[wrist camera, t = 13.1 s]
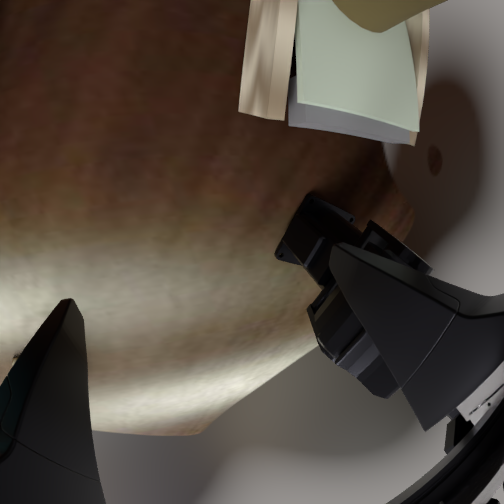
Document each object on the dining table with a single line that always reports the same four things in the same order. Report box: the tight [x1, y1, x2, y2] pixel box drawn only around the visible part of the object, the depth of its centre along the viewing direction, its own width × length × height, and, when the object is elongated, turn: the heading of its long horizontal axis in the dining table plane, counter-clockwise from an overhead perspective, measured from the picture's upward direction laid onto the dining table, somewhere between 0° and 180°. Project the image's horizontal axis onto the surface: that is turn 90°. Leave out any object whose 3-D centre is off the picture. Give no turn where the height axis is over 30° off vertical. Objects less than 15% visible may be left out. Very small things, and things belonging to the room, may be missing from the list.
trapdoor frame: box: [238, 0, 430, 146], centre depth 13 cm, size 16×13×5 cm
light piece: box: [288, 0, 419, 144], centre depth 12 cm, size 15×10×3 cm, turn 175°
